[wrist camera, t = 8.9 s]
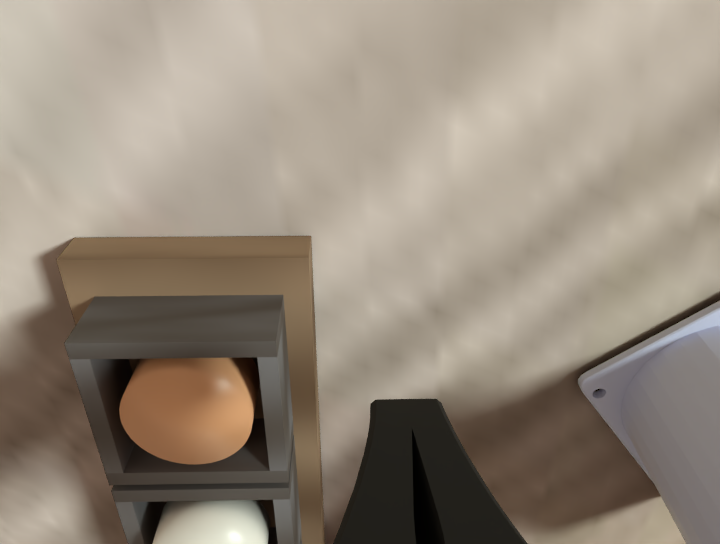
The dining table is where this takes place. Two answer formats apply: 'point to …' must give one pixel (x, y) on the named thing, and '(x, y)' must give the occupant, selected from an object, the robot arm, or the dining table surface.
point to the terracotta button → (191, 407)
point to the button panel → (202, 340)
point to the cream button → (213, 523)
